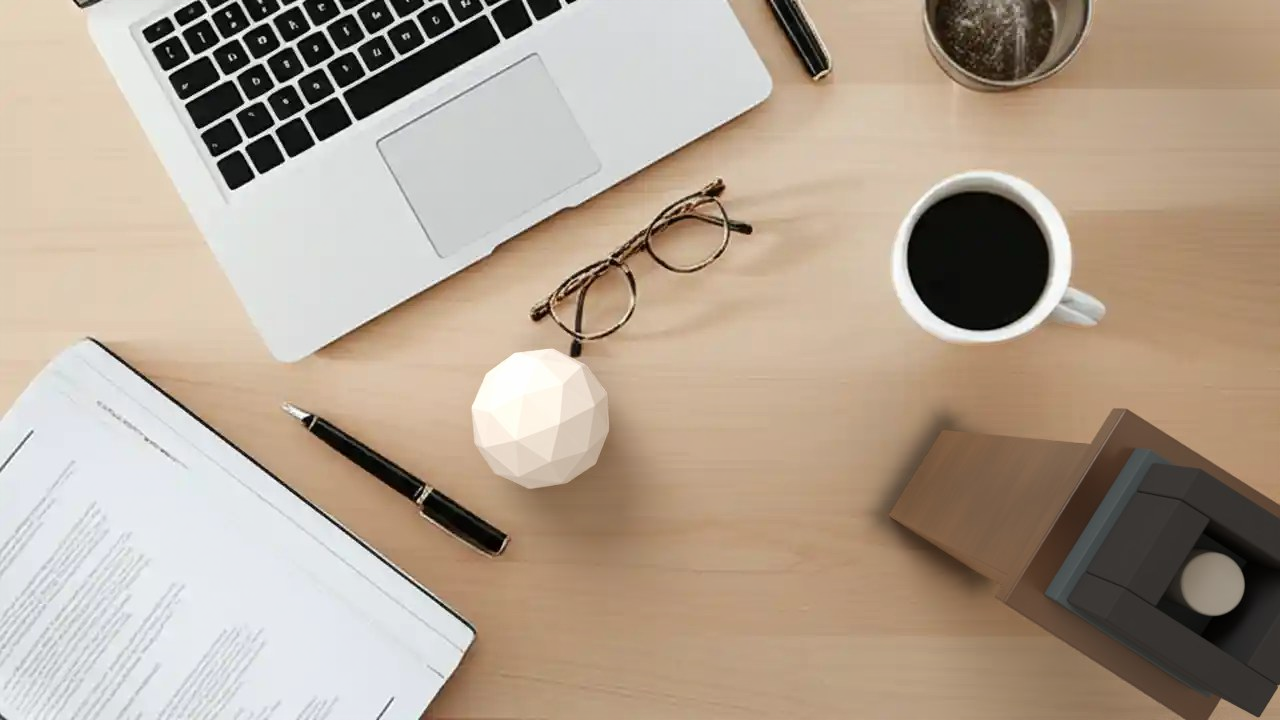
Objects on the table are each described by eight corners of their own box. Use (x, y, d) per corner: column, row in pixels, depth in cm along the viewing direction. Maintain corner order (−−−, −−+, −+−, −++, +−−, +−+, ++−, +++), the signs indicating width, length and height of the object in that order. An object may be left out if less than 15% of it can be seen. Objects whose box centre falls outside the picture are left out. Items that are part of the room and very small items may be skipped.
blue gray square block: (1135, 447, 40) (1181, 451, 36) (1285, 542, 39) (1347, 555, 36) (1043, 594, 40) (1080, 613, 36) (1192, 689, 39) (1245, 718, 36)
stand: (937, 406, 68) (1125, 407, 40) (1053, 479, 67) (1325, 533, 39) (864, 520, 68) (1002, 602, 40) (980, 594, 67) (1202, 730, 39)
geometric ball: (559, 383, 71) (603, 314, 65) (599, 500, 68) (649, 440, 62) (442, 398, 67) (476, 327, 61) (478, 523, 64) (518, 461, 58)
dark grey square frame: (1152, 461, 38) (1199, 467, 35) (1294, 551, 38) (1355, 565, 35) (1065, 600, 38) (1103, 619, 35) (1207, 690, 38) (1259, 718, 35)
